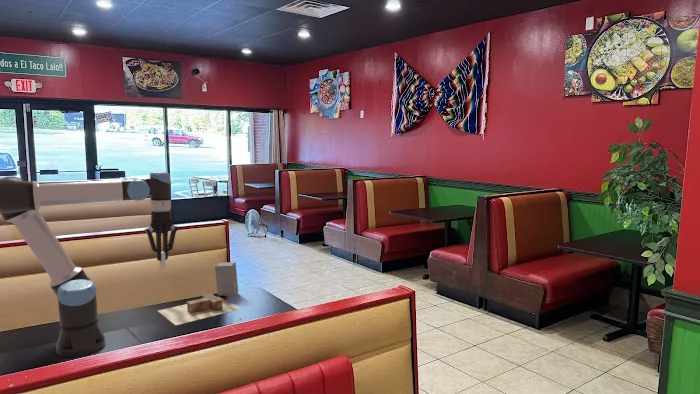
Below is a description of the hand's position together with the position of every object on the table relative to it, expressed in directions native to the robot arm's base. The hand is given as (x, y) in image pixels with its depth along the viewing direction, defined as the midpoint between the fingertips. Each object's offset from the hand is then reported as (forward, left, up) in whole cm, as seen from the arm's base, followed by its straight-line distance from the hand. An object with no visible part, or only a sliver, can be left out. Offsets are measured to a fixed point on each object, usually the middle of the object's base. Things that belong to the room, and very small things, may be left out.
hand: (162, 267), depth 193 cm
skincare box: (+33, +12, -22) cm, 41 cm away
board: (+14, -1, -22) cm, 26 cm away
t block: (+16, -1, -21) cm, 26 cm away
